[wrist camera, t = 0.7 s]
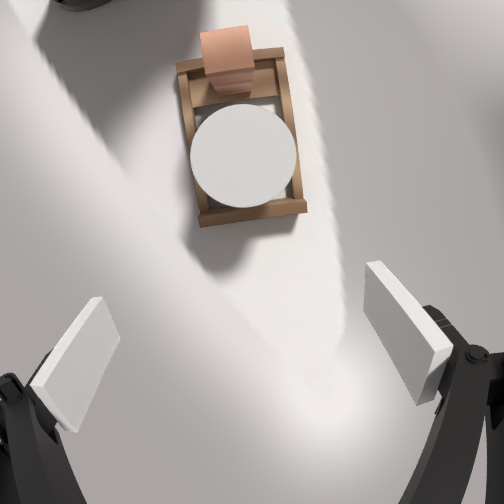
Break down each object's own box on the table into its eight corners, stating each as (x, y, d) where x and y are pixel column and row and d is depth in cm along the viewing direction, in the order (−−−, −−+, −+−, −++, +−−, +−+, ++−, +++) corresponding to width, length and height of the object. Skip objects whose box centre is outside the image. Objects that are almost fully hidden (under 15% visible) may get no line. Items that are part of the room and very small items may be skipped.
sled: (178, 66, 29) (145, 33, 17) (281, 51, 29) (299, 10, 17) (203, 219, 36) (184, 261, 24) (302, 205, 36) (330, 240, 24)
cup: (226, 195, 35) (218, 223, 24) (196, 134, 33) (173, 132, 21) (290, 168, 34) (312, 182, 23) (261, 105, 32) (270, 88, 20)
